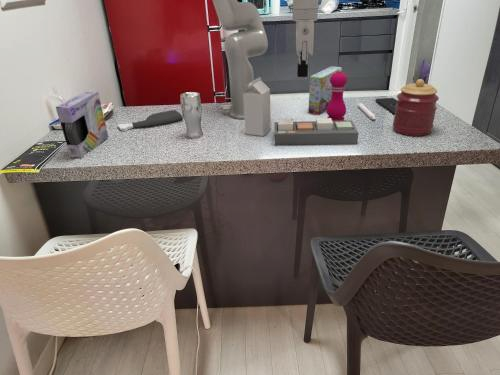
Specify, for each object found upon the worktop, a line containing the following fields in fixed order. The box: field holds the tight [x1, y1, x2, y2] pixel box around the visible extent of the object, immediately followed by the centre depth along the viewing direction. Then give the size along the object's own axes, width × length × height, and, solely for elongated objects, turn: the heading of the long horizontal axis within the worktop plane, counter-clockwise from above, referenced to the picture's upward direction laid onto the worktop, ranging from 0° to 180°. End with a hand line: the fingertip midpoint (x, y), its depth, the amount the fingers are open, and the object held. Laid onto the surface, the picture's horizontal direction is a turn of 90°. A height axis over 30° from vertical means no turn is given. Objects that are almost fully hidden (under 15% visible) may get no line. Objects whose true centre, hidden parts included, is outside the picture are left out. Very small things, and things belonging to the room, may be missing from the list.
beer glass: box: [180, 91, 204, 139], centre depth 132 cm, size 7×7×15 cm
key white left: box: [277, 118, 294, 131], centre depth 126 cm, size 5×5×4 cm
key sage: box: [335, 122, 353, 130], centre depth 126 cm, size 5×5×4 cm
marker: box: [357, 102, 376, 121], centre depth 148 cm, size 18×2×2 cm, turn 3°
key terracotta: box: [297, 123, 313, 131], centre depth 127 cm, size 5×5×4 cm
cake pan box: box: [55, 90, 109, 159], centre depth 125 cm, size 19×5×18 cm, turn 170°
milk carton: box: [243, 76, 272, 137], centre depth 131 cm, size 7×7×19 cm
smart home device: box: [374, 97, 398, 116], centre depth 153 cm, size 8×2×20 cm
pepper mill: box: [325, 68, 348, 121], centre depth 136 cm, size 7×7×20 cm
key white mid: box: [315, 117, 333, 130], centre depth 125 cm, size 5×5×4 cm
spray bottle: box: [117, 109, 184, 132], centre depth 149 cm, size 3×11×25 cm
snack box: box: [307, 66, 343, 116], centre depth 154 cm, size 21×6×15 cm, turn 147°
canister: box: [392, 78, 440, 137], centre depth 126 cm, size 13×13×18 cm
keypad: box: [273, 119, 359, 147], centre depth 127 cm, size 27×12×4 cm, turn 86°
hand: (302, 76), depth 122 cm, fingers closed
